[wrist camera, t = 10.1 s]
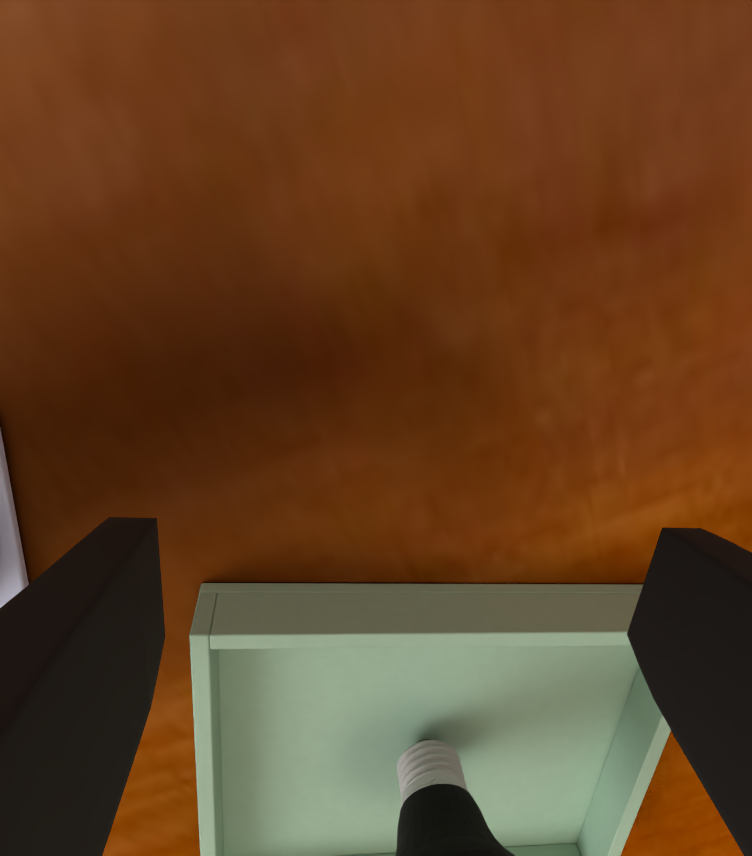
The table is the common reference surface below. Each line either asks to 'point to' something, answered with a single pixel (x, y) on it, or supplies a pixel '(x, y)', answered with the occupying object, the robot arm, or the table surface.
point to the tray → (418, 712)
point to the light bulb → (439, 806)
